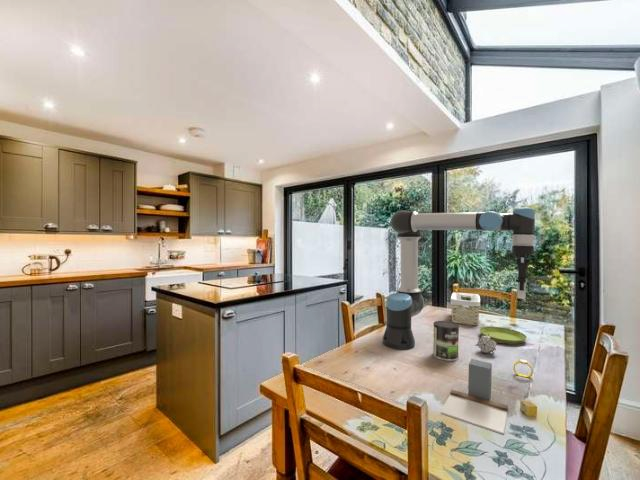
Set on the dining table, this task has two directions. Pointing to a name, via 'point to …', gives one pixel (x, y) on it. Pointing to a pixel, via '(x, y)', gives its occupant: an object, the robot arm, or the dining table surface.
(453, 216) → the robot arm
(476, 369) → the tall block
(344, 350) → the dining table surface
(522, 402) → the alphabet block
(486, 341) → the game die
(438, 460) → the dining table surface
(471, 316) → the storage basket
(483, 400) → the bar
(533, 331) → the dining table surface
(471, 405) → the mat
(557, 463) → the dining table surface
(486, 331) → the saucer
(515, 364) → the watch
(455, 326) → the coffee can
